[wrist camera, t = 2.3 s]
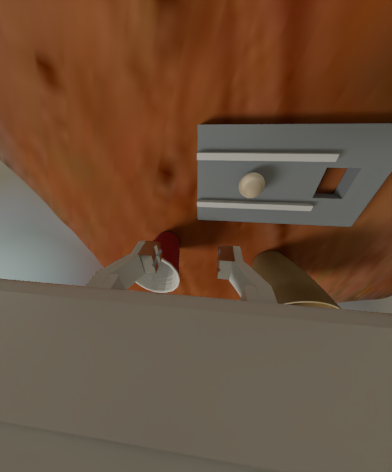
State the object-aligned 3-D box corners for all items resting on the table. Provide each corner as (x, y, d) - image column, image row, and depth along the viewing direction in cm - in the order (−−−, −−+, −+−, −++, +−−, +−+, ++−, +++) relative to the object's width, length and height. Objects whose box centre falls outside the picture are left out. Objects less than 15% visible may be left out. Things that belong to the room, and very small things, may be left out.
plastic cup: (153, 215, 34) (129, 248, 25) (195, 233, 36) (188, 271, 27) (143, 246, 41) (121, 282, 31) (179, 260, 42) (169, 298, 33)
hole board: (199, 124, 24) (196, 124, 21) (406, 123, 21) (438, 122, 18) (198, 214, 33) (196, 222, 30) (341, 220, 31) (355, 230, 28)
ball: (239, 169, 24) (243, 175, 21) (263, 169, 24) (271, 176, 21) (235, 192, 27) (238, 201, 24) (258, 193, 27) (264, 202, 23)
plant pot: (250, 283, 45) (264, 344, 33) (231, 250, 38) (240, 312, 26) (304, 270, 40) (347, 337, 27) (294, 229, 33) (346, 294, 20)
